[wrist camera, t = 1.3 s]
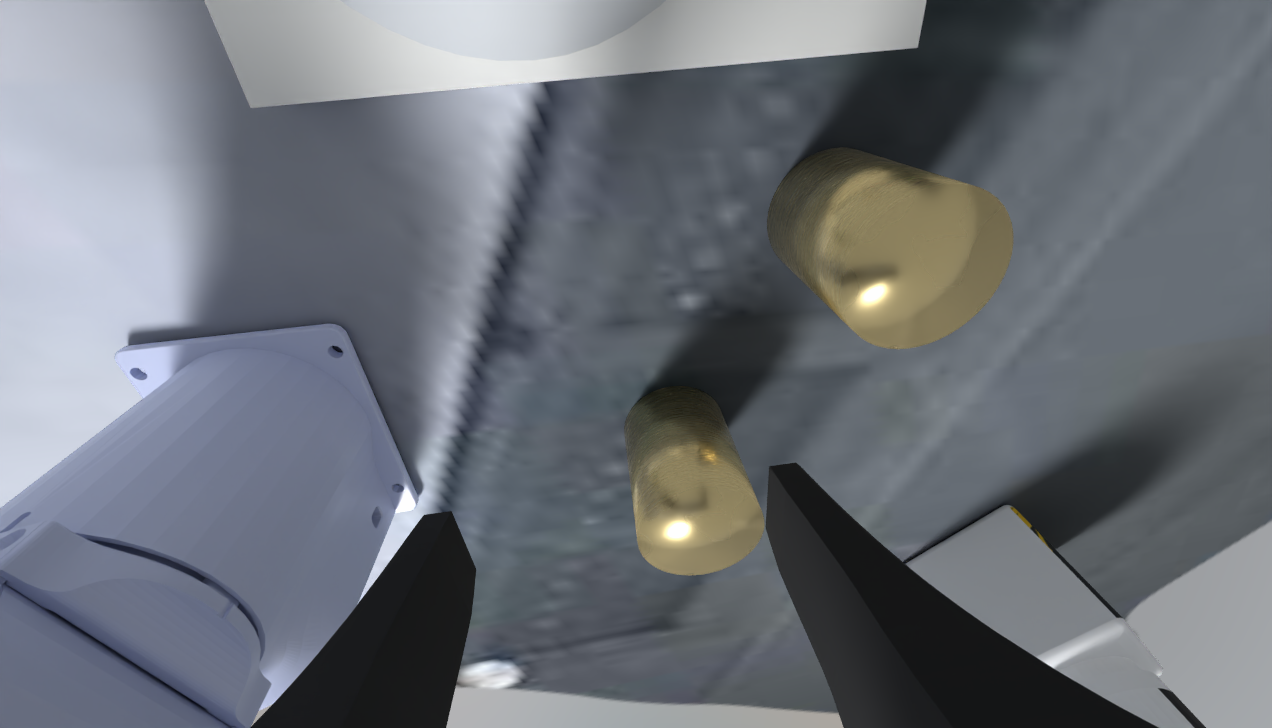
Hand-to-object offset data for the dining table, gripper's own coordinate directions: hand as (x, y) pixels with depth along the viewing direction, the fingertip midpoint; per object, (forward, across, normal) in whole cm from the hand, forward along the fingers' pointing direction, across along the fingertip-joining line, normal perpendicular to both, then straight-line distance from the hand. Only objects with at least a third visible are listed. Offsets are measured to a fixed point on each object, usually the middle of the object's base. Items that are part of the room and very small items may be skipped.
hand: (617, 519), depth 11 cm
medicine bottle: (+10, -20, +19) cm, 29 cm away
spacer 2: (+10, -9, -3) cm, 13 cm away
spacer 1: (+10, -2, +6) cm, 11 cm away
